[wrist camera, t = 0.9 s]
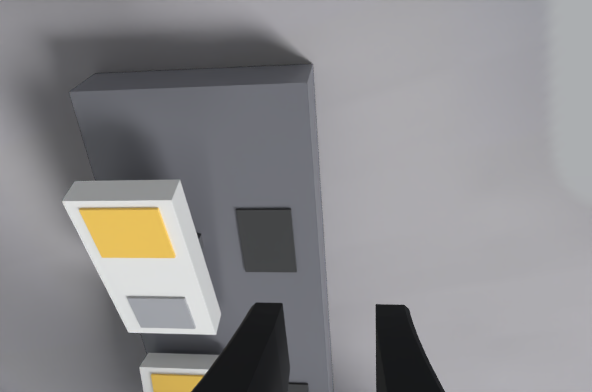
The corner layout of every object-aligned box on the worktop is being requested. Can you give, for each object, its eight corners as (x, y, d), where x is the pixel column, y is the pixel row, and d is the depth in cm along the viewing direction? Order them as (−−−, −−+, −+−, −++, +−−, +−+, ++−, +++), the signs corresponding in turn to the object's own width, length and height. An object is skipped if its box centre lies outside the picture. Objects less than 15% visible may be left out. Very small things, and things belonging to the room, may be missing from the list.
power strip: (337, 449, 29) (334, 501, 27) (193, 442, 30) (178, 491, 28) (312, 63, 19) (304, 91, 16) (94, 73, 20) (57, 100, 17)
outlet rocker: (221, 313, 22) (215, 336, 21) (136, 312, 22) (127, 334, 21) (180, 179, 17) (170, 202, 16) (74, 181, 18) (60, 203, 17)
